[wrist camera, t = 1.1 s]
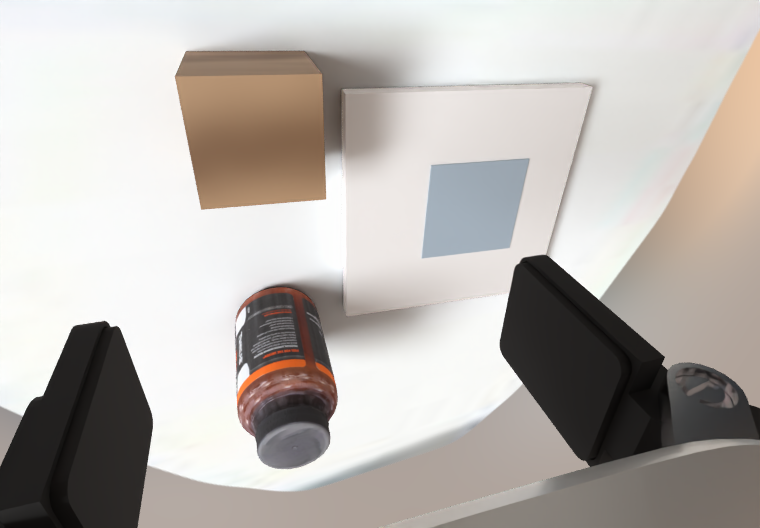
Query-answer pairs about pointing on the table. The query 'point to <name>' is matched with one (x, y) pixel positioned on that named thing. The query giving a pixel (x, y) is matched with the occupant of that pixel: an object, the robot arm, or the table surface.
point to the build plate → (450, 187)
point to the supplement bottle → (284, 377)
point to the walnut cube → (253, 126)
